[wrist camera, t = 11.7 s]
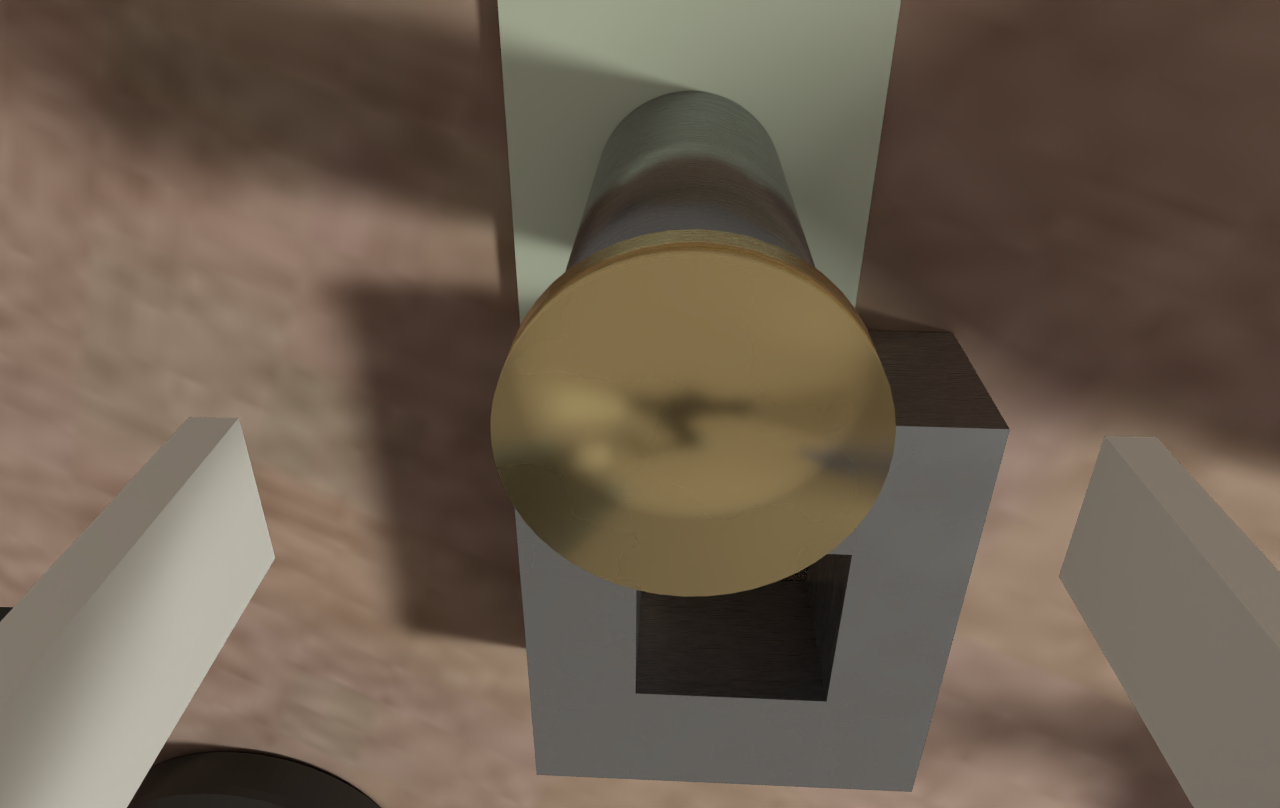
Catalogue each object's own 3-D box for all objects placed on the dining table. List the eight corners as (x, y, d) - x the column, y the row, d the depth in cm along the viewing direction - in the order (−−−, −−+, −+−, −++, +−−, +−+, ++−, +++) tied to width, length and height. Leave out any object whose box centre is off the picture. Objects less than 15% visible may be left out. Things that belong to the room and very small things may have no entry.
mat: (524, 334, 30) (521, 341, 29) (500, -21, 24) (496, -18, 24) (845, 343, 30) (849, 351, 29) (898, -15, 24) (902, -13, 23)
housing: (556, 653, 38) (536, 774, 33) (537, 321, 30) (506, 413, 25) (880, 666, 37) (911, 791, 32) (952, 332, 29) (1009, 429, 24)
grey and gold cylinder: (583, 284, 28) (505, 589, 16) (577, 70, 25) (473, 251, 13) (787, 290, 28) (864, 603, 16) (809, 74, 25) (930, 263, 12)
